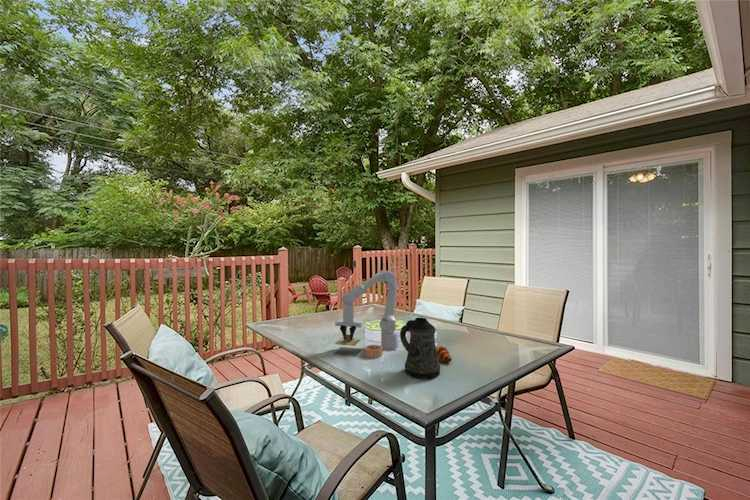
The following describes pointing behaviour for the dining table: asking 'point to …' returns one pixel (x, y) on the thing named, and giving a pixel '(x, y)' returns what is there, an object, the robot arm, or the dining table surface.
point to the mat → (347, 351)
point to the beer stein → (420, 349)
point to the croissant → (443, 354)
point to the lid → (347, 341)
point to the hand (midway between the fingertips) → (348, 339)
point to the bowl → (373, 351)
